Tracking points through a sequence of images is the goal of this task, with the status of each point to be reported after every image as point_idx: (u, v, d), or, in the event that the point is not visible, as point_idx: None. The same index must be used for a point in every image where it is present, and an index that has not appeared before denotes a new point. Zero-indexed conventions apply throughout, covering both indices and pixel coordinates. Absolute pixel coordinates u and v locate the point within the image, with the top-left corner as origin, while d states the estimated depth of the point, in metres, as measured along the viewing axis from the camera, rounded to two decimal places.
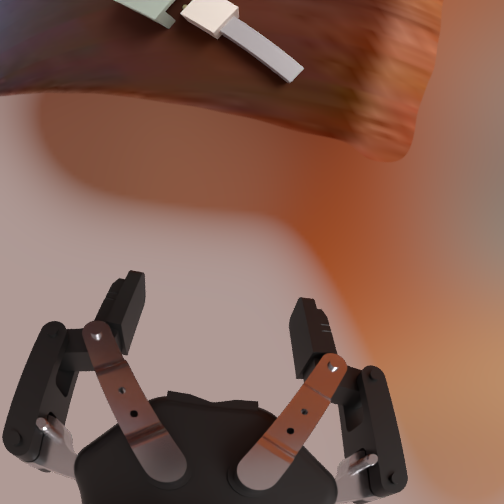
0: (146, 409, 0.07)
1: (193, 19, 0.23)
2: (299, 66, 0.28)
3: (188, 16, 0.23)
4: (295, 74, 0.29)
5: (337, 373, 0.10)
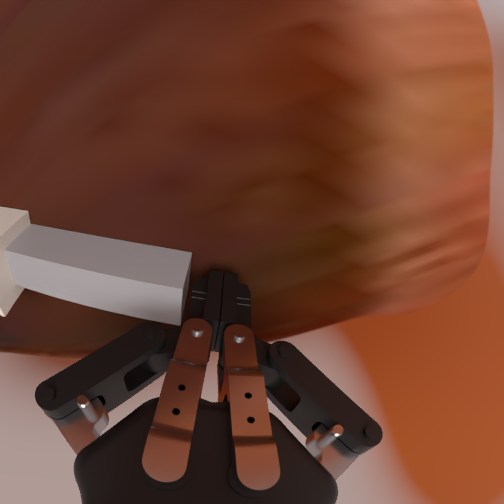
0: (189, 415, 0.07)
1: None
2: (170, 290, 0.13)
3: None
4: (176, 308, 0.13)
5: (240, 344, 0.11)
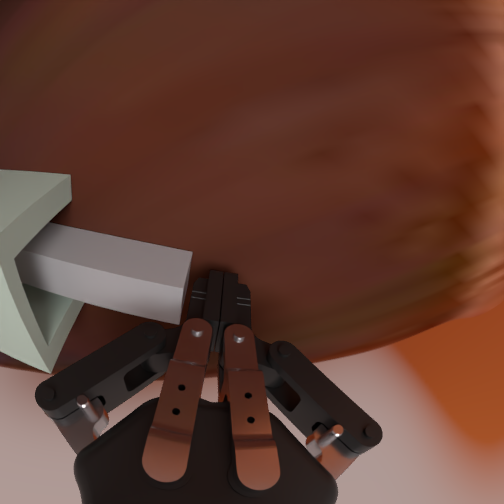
0: (189, 415, 0.07)
1: None
2: (170, 289, 0.13)
3: None
4: (176, 308, 0.13)
5: (240, 344, 0.11)
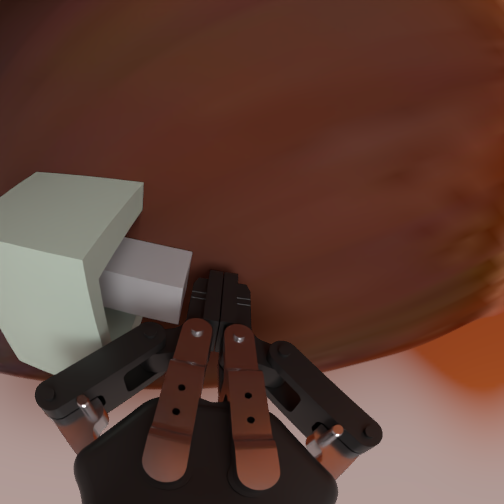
0: (189, 415, 0.07)
1: None
2: (170, 289, 0.13)
3: None
4: (175, 307, 0.13)
5: (240, 344, 0.11)
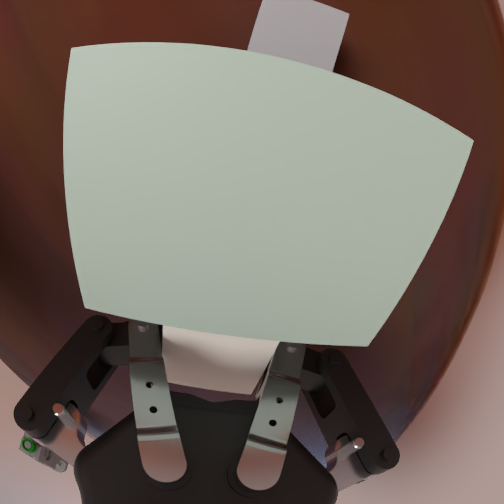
0: (166, 409, 0.07)
1: (258, 375, 0.12)
2: (269, 4, 0.06)
3: (253, 384, 0.12)
4: (310, 6, 0.06)
5: (294, 354, 0.11)
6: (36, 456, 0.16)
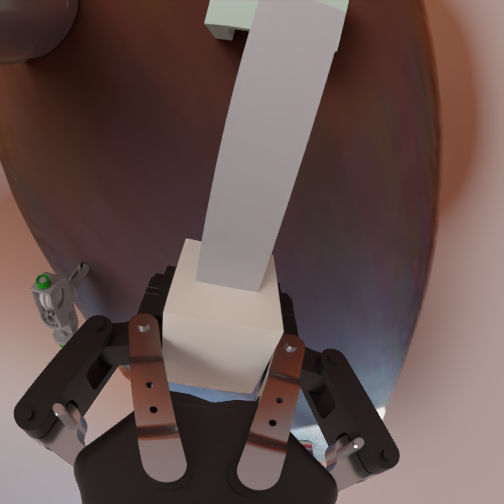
0: (167, 409, 0.07)
1: (258, 374, 0.12)
2: (265, 3, 0.06)
3: (254, 383, 0.12)
4: (306, 4, 0.06)
5: (294, 354, 0.11)
6: (48, 292, 0.22)
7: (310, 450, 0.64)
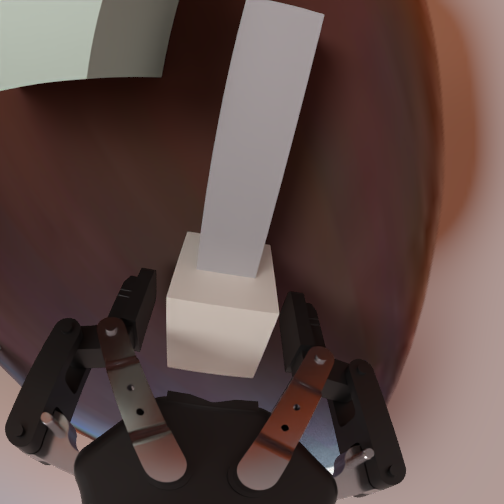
0: (152, 408, 0.07)
1: (258, 357, 0.13)
2: (250, 11, 0.07)
3: (254, 366, 0.13)
4: (287, 10, 0.07)
5: (324, 366, 0.10)
6: None
7: None
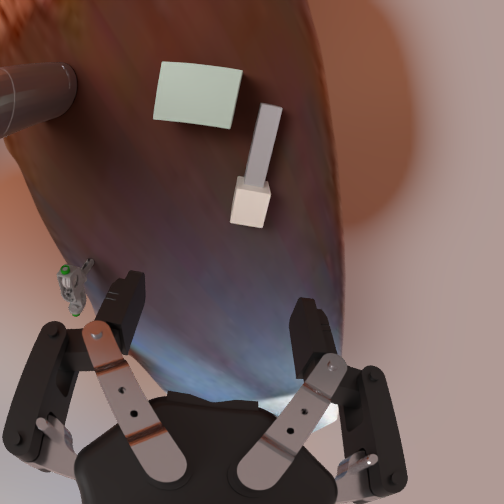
0: (146, 409, 0.07)
1: (264, 215, 0.37)
2: (262, 108, 0.31)
3: (263, 220, 0.38)
4: (272, 107, 0.31)
5: (337, 373, 0.10)
6: (68, 276, 0.37)
7: None
